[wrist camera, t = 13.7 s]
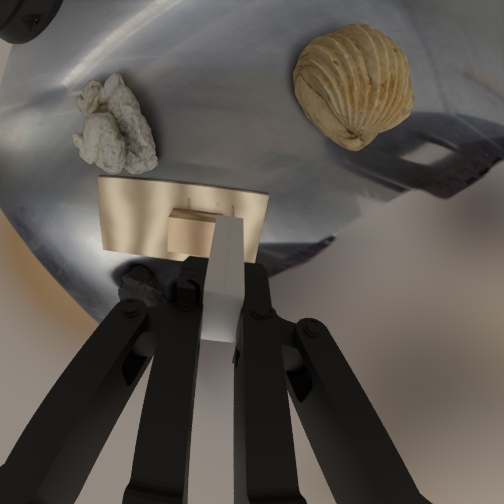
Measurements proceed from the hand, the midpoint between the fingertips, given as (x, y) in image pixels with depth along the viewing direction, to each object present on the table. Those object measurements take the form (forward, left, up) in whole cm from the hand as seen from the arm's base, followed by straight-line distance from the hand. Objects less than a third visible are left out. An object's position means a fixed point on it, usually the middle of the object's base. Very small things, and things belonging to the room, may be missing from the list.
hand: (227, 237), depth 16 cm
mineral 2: (-15, -28, -27) cm, 41 cm away
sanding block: (-5, -13, -26) cm, 29 cm away
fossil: (+13, +13, -27) cm, 32 cm away
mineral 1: (-18, +2, -27) cm, 32 cm away
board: (-8, -13, -26) cm, 31 cm away
